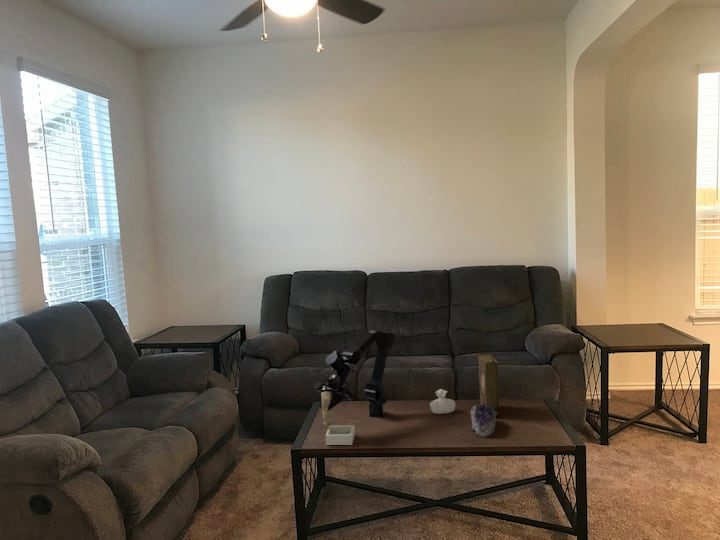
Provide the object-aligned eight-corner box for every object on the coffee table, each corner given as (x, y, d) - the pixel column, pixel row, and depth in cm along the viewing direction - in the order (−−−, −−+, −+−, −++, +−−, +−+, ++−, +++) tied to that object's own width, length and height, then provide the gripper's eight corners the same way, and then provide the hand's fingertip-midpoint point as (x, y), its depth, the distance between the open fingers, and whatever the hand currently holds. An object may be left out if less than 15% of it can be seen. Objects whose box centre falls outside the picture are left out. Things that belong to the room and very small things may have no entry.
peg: (334, 421, 228) (332, 391, 227) (330, 425, 224) (328, 394, 223) (325, 421, 229) (323, 391, 228) (321, 424, 225) (319, 394, 224)
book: (479, 405, 256) (477, 354, 254) (491, 405, 256) (489, 353, 254) (487, 418, 240) (485, 362, 238) (499, 417, 239) (497, 362, 238)
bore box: (354, 435, 228) (354, 425, 227) (352, 445, 217) (351, 435, 217) (330, 436, 229) (329, 425, 228) (326, 446, 218) (325, 435, 218)
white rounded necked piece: (455, 415, 251) (450, 392, 258) (458, 409, 245) (453, 386, 251) (430, 417, 250) (426, 394, 257) (432, 412, 244) (428, 388, 250)
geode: (501, 438, 217) (497, 415, 216) (473, 441, 219) (468, 418, 218) (497, 418, 237) (493, 396, 236) (471, 421, 239) (467, 400, 238)
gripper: (315, 364, 234) (298, 395, 226) (347, 369, 221) (330, 403, 214) (329, 377, 240) (313, 408, 233) (360, 383, 228) (344, 416, 221)
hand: (324, 408), depth 225 cm, fingers closed on peg, 4 cm apart
